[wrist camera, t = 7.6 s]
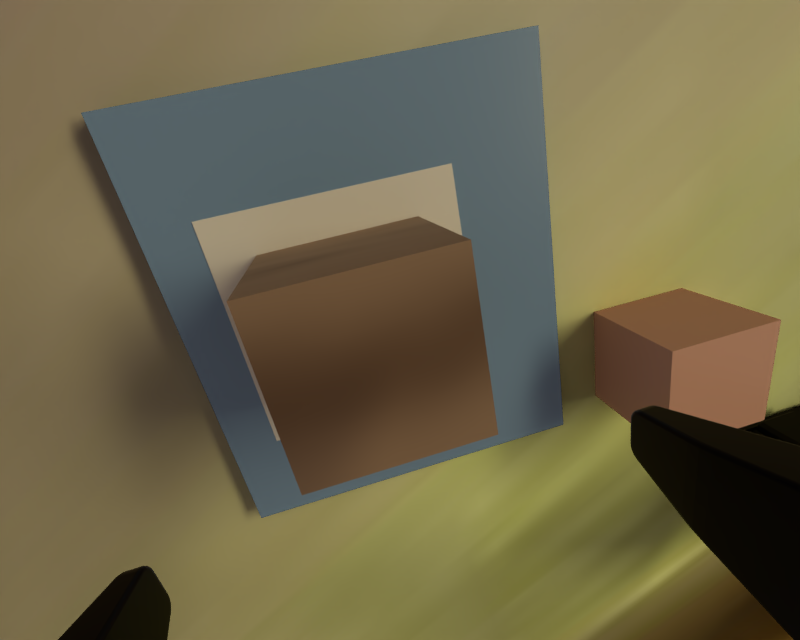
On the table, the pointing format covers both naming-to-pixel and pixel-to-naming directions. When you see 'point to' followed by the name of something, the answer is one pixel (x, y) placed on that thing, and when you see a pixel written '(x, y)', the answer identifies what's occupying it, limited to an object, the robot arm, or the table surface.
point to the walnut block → (368, 349)
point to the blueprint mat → (347, 212)
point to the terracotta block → (685, 357)
